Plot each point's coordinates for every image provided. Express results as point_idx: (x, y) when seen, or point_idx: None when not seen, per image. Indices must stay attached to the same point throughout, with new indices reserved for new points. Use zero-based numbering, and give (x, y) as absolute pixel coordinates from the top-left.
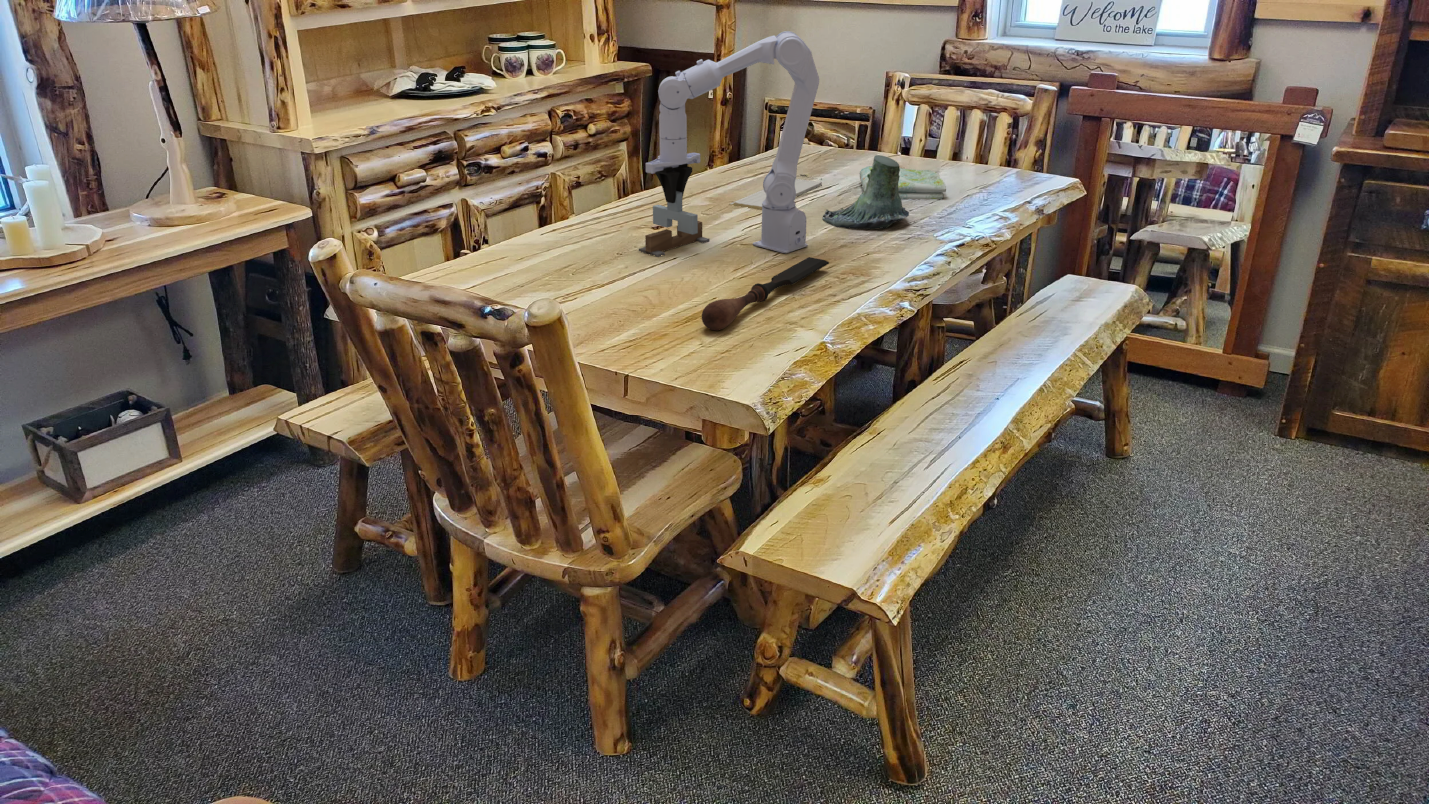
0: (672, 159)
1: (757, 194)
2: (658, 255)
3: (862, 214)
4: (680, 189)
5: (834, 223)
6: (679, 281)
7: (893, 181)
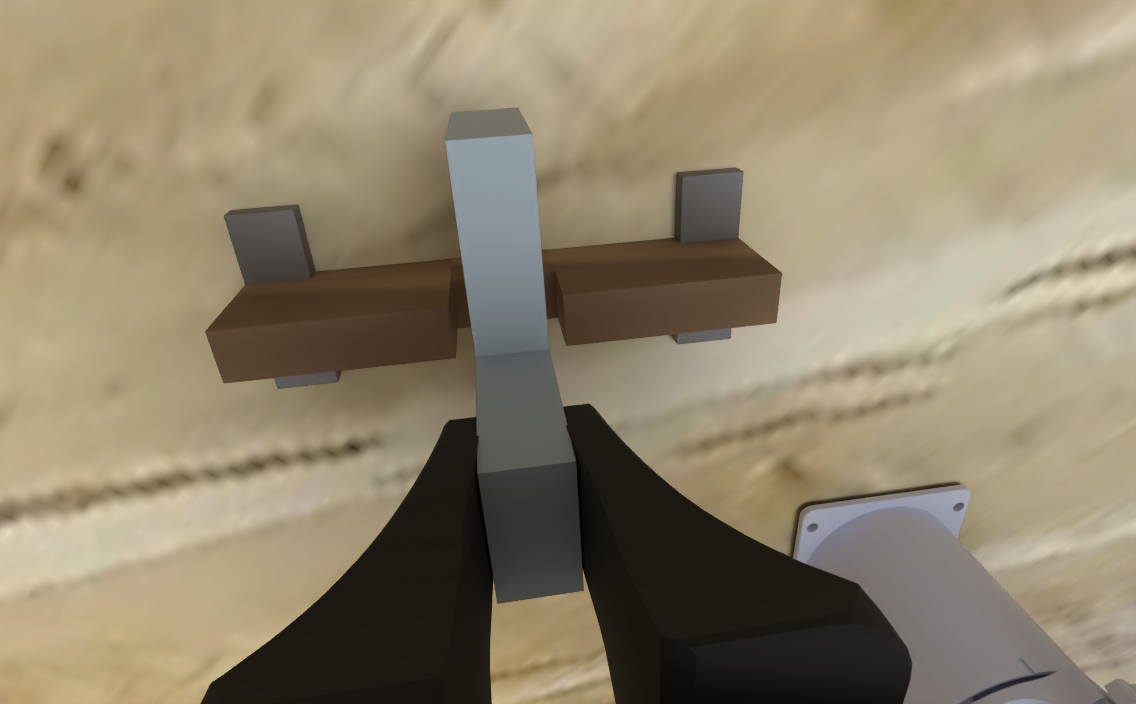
0: None
1: None
2: (282, 384)
3: None
4: (590, 589)
5: None
6: (177, 679)
7: None
